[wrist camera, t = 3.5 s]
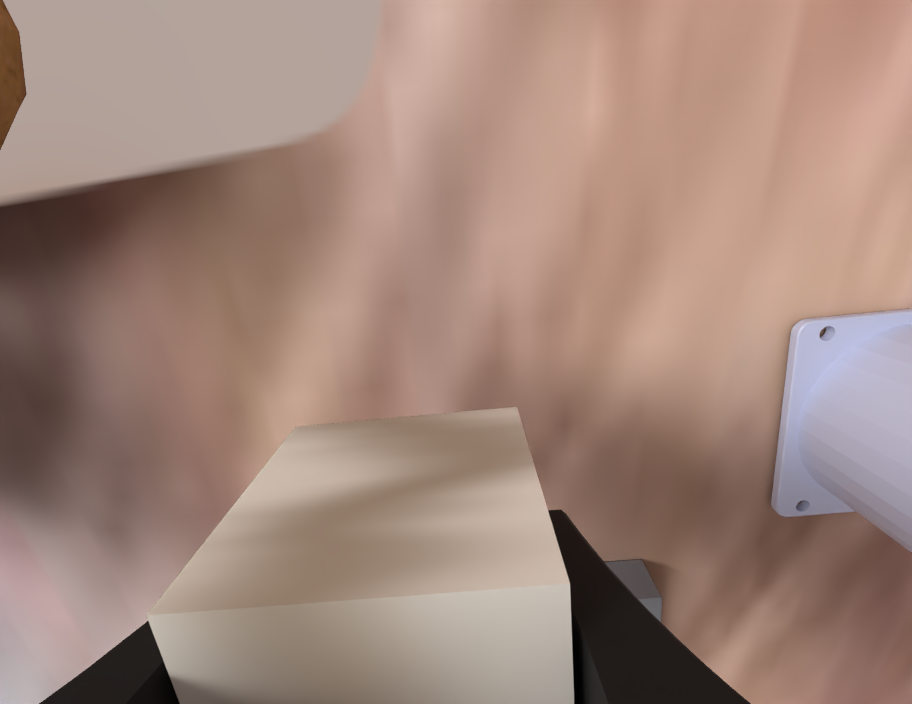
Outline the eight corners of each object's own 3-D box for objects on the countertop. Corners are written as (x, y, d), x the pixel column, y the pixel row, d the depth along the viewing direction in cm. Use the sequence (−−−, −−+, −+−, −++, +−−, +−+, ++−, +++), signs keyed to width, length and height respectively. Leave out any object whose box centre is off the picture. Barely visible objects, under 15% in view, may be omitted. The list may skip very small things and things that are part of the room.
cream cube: (516, 407, 10) (569, 583, 5) (528, 587, 11) (579, 859, 7) (295, 426, 10) (145, 615, 5) (334, 602, 12) (245, 876, 7)
